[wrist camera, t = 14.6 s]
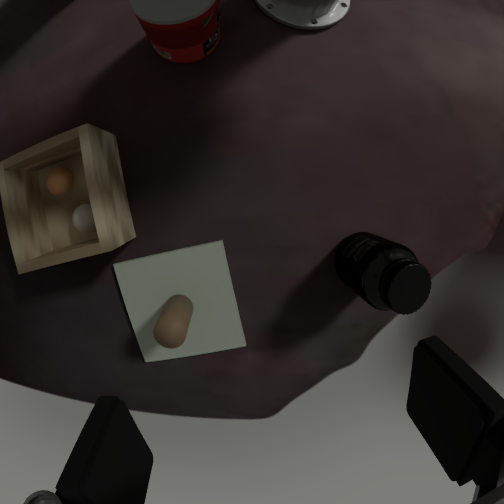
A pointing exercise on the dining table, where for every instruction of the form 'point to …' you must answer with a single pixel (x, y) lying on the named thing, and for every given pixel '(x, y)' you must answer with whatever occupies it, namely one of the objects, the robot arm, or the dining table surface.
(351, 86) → the dining table surface
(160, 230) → the dining table surface
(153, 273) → the lid
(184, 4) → the canned food
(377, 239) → the supplement bottle
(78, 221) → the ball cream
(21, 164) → the pine box
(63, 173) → the ball terracotta
